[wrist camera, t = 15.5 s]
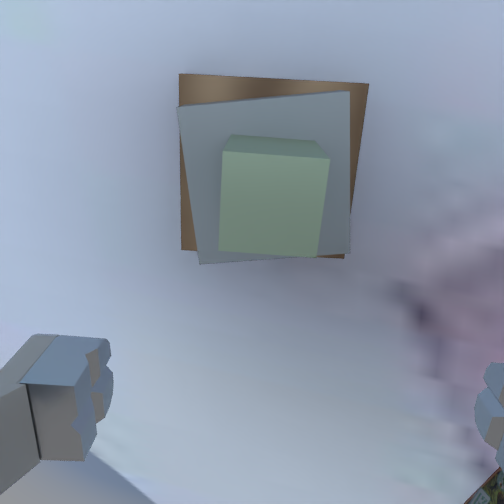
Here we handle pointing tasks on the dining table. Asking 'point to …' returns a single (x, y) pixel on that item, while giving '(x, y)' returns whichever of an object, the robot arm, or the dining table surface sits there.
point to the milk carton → (490, 490)
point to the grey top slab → (276, 126)
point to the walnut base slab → (249, 87)
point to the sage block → (272, 196)
